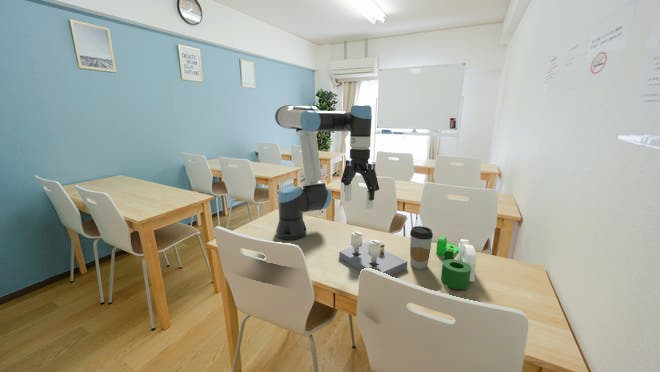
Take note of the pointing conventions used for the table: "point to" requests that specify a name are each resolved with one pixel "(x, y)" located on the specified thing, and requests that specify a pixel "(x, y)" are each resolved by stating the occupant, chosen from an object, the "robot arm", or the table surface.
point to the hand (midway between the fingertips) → (358, 204)
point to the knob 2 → (374, 250)
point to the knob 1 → (356, 240)
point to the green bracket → (455, 271)
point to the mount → (363, 260)
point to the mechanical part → (444, 247)
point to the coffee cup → (420, 246)
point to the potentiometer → (382, 249)
